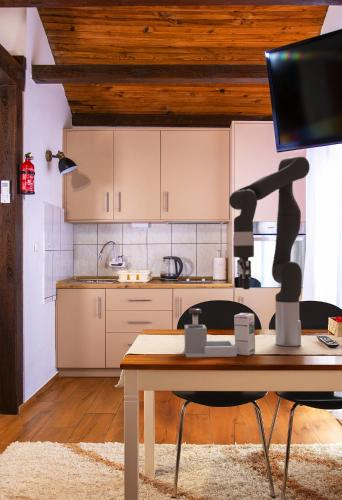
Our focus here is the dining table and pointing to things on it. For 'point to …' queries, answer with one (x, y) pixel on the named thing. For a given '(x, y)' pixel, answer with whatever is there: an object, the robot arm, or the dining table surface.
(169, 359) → the dining table surface
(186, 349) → the tray
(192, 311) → the black knob with stem
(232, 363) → the dining table surface
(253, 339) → the syrup box
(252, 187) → the robot arm
